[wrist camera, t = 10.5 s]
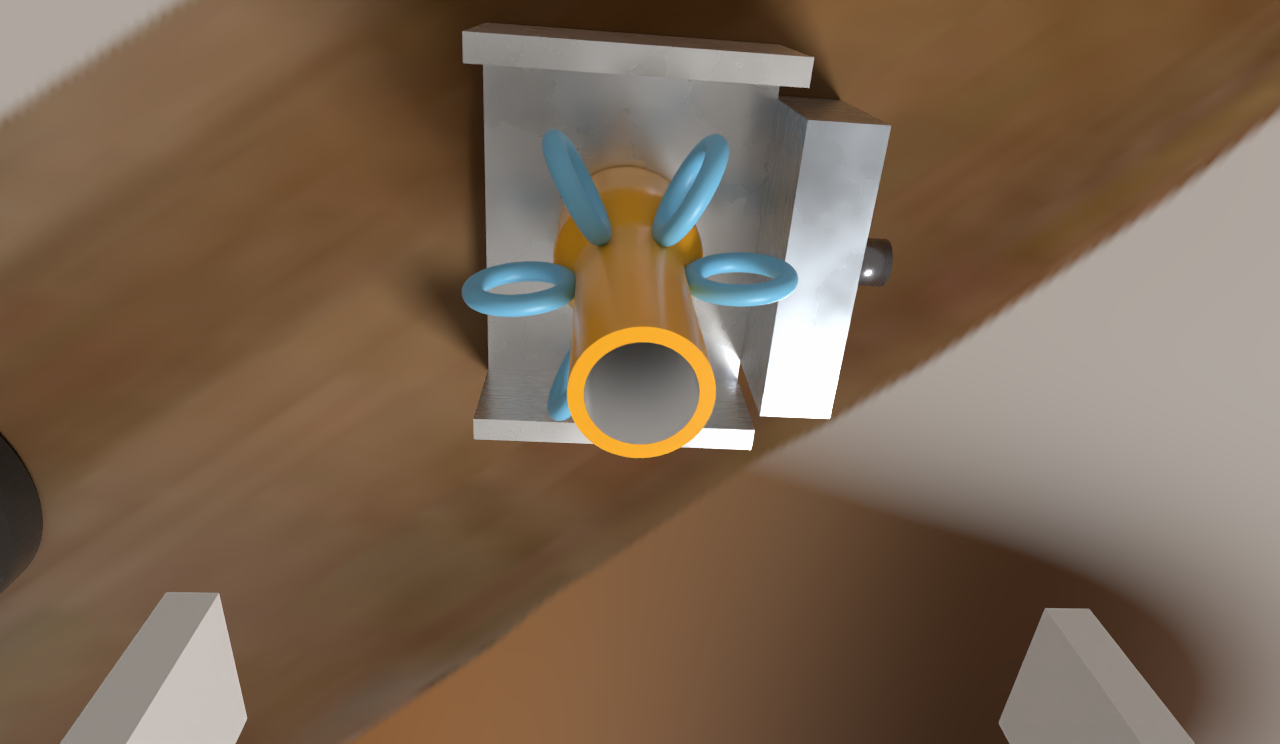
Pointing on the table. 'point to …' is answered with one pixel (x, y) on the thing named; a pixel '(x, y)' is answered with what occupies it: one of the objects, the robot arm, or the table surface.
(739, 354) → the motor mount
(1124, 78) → the table surface
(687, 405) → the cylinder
